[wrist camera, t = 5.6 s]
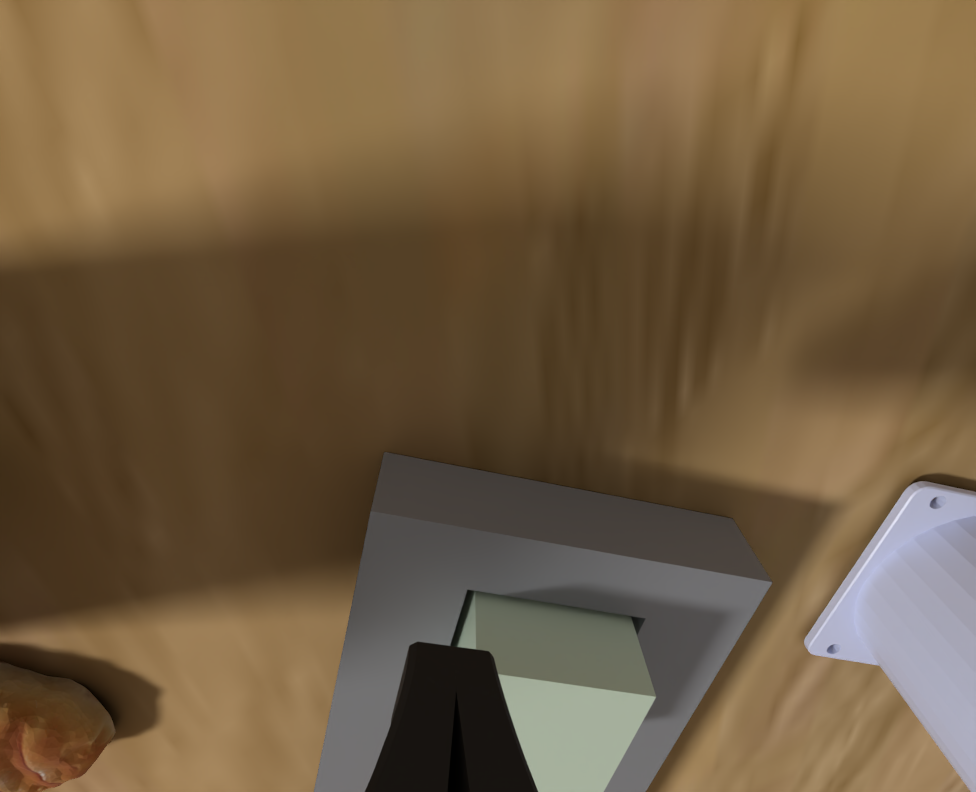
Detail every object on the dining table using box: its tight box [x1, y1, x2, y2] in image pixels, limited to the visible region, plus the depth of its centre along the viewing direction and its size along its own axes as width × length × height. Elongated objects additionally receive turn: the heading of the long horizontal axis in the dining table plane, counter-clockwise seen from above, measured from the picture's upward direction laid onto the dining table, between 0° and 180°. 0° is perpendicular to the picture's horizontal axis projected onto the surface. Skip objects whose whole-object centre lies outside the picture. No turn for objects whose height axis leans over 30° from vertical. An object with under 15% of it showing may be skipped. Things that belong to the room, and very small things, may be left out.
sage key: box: [450, 590, 656, 792], centre depth 19 cm, size 5×5×4 cm
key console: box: [314, 452, 772, 792], centre depth 24 cm, size 12×26×3 cm, turn 166°
